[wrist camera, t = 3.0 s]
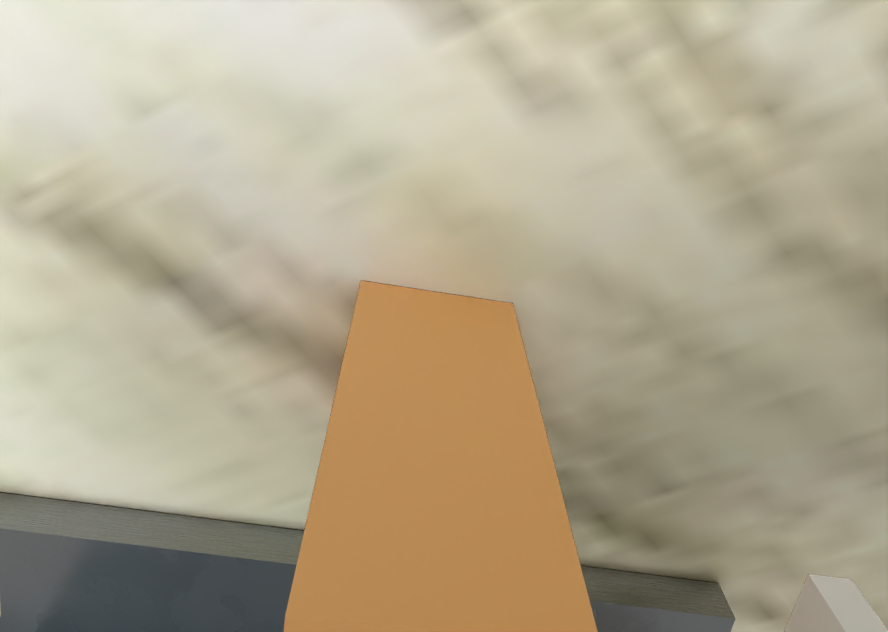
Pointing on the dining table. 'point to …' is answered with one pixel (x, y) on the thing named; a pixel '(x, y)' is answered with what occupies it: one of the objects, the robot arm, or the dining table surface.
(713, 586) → the grey square hole fixture
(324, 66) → the dining table surface
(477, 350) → the orange rectangular block
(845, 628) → the robot arm
